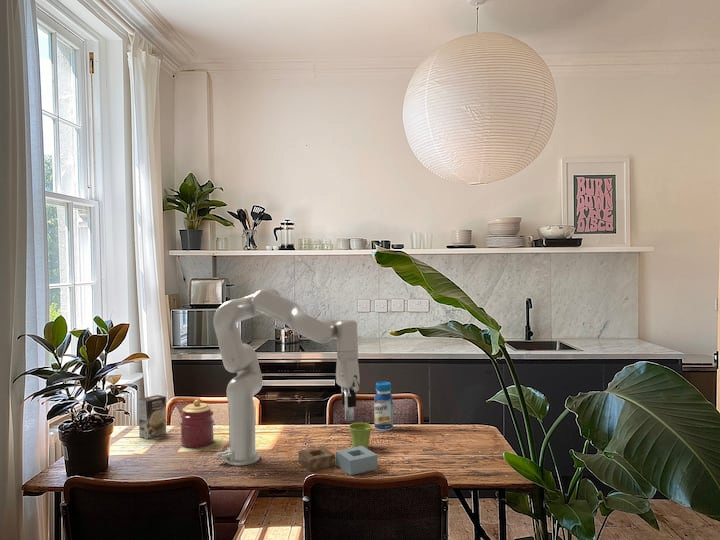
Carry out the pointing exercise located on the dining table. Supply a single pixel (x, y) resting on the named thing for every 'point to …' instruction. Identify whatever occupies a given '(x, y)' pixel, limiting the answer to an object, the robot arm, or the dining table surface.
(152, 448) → the dining table surface
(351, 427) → the plant pot
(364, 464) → the dock block
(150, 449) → the dining table surface
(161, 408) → the coffee box
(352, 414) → the pin
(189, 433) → the canister
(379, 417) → the beverage bottle
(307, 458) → the mount block
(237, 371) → the robot arm
